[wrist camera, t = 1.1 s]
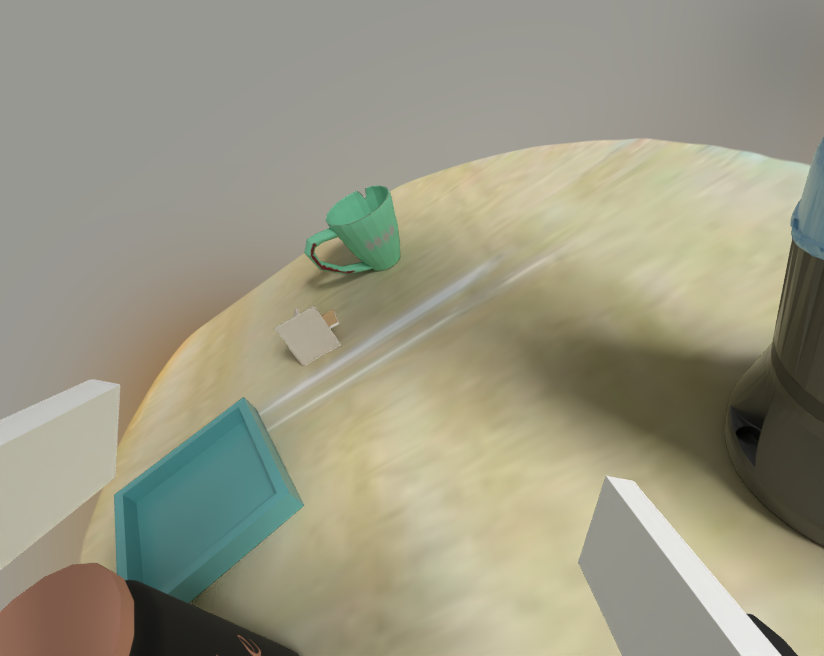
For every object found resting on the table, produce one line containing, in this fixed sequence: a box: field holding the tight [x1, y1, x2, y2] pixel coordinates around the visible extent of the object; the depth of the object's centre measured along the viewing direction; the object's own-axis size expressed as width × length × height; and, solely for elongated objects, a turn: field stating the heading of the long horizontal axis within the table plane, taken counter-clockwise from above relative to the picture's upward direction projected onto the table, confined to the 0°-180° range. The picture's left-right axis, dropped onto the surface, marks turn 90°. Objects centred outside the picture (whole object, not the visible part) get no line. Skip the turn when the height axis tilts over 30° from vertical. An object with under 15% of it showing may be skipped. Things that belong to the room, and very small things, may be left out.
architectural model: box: [274, 306, 342, 366], centre depth 57 cm, size 3×7×7 cm, turn 110°
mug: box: [305, 186, 400, 275], centre depth 65 cm, size 15×10×10 cm
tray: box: [114, 397, 304, 603], centre depth 46 cm, size 17×17×3 cm
